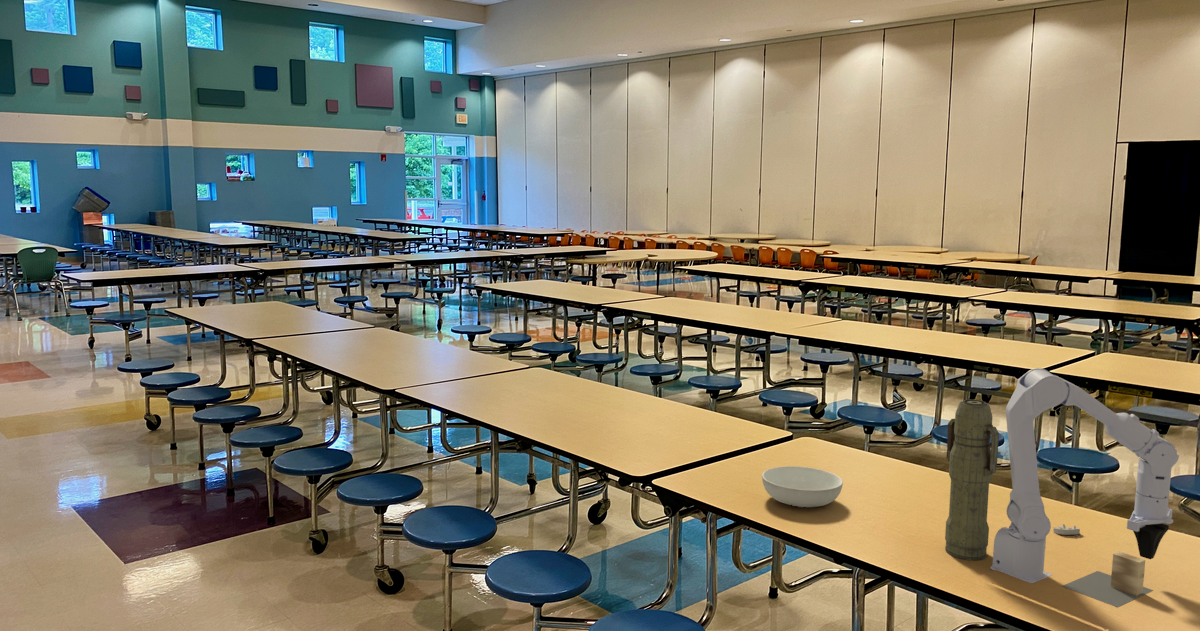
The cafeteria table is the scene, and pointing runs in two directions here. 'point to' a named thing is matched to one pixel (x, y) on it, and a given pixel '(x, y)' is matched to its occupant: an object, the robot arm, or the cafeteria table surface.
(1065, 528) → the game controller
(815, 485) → the serving bowl
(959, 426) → the thermos
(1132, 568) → the green-faced wooden block
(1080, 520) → the cafeteria table surface
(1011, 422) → the robot arm
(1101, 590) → the rubber mat
